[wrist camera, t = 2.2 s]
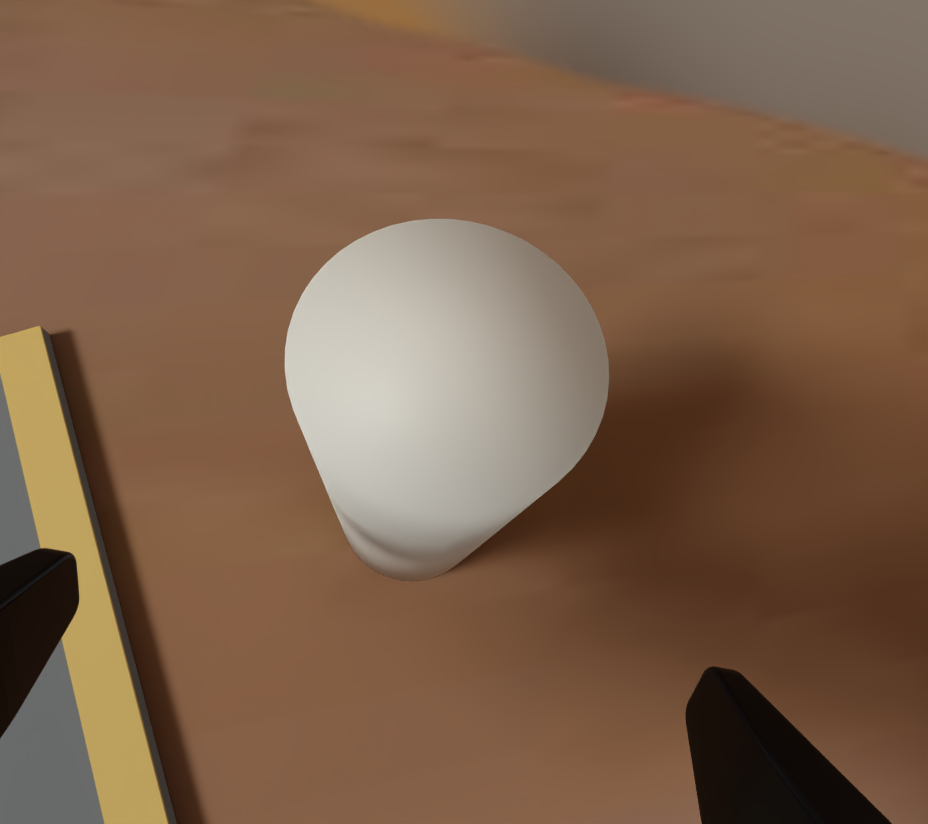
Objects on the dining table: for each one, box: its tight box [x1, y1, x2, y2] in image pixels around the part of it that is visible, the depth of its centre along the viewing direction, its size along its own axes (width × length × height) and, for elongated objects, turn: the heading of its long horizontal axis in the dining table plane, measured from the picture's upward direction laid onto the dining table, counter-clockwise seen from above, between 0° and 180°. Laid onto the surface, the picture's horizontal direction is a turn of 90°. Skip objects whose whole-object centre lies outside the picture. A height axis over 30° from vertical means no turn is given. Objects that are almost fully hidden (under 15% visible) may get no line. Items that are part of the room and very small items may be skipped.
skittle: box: [285, 219, 609, 581], centre depth 14 cm, size 5×5×12 cm
